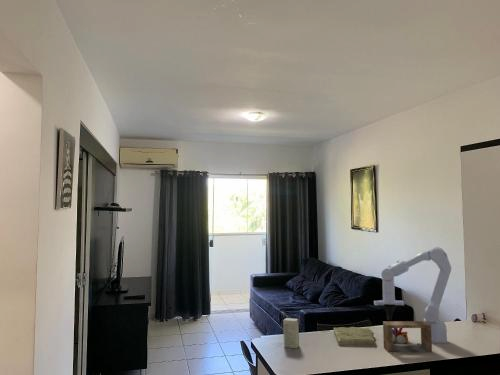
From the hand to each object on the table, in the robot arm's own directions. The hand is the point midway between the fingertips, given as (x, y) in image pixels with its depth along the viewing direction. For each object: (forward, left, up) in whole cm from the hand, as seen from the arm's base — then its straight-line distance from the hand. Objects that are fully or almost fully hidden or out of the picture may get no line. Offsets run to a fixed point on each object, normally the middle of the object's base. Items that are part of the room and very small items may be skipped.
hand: (389, 319), depth 191 cm
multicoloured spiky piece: (0, +10, -8) cm, 13 cm away
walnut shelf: (0, +21, -7) cm, 22 cm away
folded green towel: (+19, +6, -8) cm, 21 cm away
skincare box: (+51, +16, -8) cm, 54 cm away
